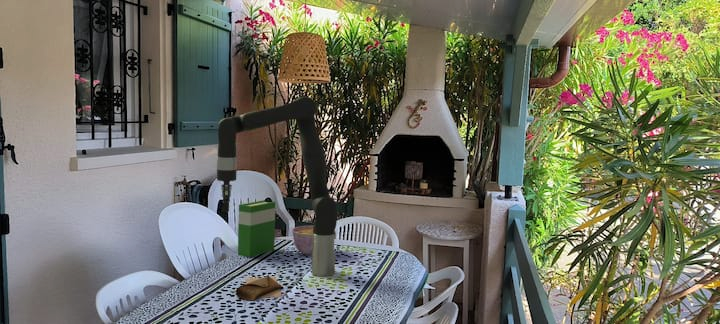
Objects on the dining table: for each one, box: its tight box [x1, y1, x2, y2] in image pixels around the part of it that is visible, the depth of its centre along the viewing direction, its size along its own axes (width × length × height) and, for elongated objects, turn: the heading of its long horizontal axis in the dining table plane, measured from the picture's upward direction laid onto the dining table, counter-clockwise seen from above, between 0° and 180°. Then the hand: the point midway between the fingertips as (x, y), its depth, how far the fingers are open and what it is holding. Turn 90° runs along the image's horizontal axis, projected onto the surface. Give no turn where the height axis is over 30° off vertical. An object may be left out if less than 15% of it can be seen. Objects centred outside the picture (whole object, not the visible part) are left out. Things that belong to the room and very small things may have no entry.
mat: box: [245, 277, 283, 299], centre depth 188 cm, size 12×22×1 cm, turn 15°
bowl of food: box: [291, 225, 314, 256], centre depth 239 cm, size 20×20×12 cm
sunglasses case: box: [235, 274, 284, 301], centre depth 183 cm, size 18×7×7 cm
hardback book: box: [237, 200, 276, 258], centre depth 237 cm, size 18×7×24 cm, turn 150°
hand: (226, 211), depth 196 cm, fingers closed
